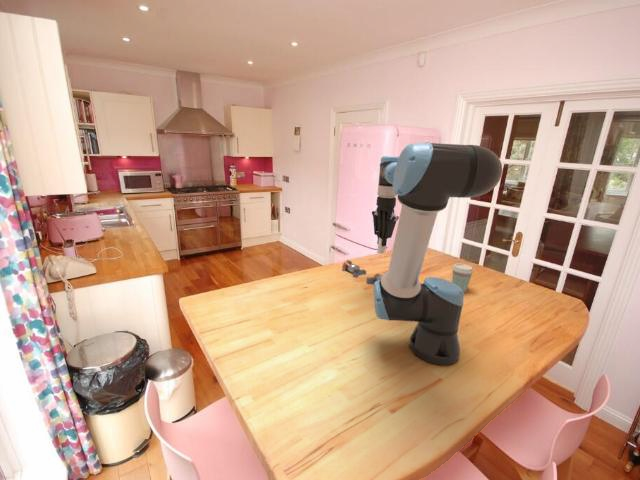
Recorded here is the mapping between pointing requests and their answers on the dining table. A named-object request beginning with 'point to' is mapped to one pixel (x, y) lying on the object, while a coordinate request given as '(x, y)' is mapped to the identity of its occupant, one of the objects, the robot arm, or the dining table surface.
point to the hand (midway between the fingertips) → (380, 252)
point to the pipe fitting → (359, 272)
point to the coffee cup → (462, 275)
